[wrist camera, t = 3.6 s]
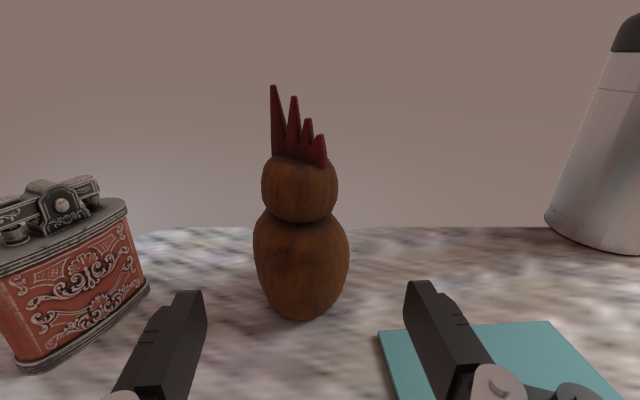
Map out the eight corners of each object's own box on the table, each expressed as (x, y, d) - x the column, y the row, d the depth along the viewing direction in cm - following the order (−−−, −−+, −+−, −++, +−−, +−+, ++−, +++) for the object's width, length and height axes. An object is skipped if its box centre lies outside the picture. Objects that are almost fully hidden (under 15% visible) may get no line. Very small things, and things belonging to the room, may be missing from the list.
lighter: (129, 277, 24) (91, 159, 20) (161, 289, 23) (127, 167, 19) (5, 362, 18) (-95, 212, 13) (41, 384, 16) (-56, 228, 12)
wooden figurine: (247, 286, 24) (224, 83, 17) (309, 263, 27) (311, 80, 20) (286, 352, 19) (276, 98, 12) (358, 314, 21) (383, 92, 15)
